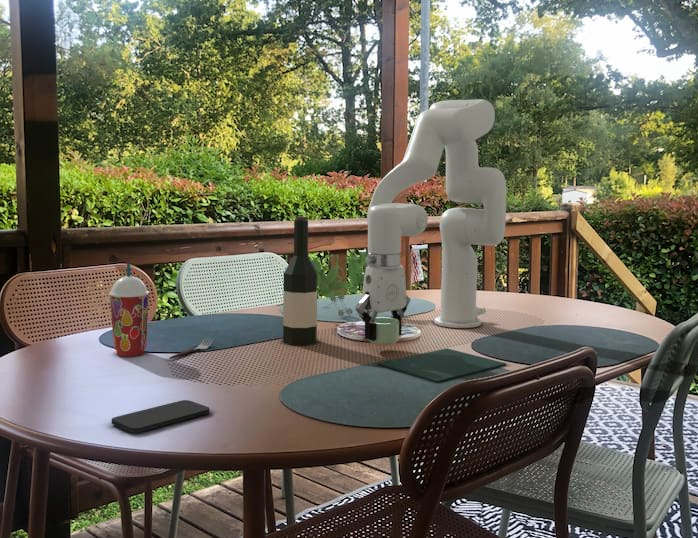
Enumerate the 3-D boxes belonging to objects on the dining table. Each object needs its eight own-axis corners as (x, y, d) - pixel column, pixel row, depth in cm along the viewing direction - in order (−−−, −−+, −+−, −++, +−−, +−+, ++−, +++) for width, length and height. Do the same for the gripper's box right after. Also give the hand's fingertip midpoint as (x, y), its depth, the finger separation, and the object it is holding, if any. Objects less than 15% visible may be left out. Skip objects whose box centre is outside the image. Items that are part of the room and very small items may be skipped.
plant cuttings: (280, 347, 203) (333, 306, 191) (252, 293, 207) (302, 250, 195) (357, 327, 231) (407, 290, 219) (331, 280, 235) (378, 241, 223)
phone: (212, 408, 127) (134, 429, 115) (212, 413, 127) (134, 434, 116) (186, 399, 131) (108, 418, 120) (186, 403, 132) (108, 423, 120)
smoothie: (157, 351, 168) (156, 262, 166) (135, 359, 161) (133, 267, 158) (126, 347, 171) (124, 260, 169) (102, 356, 163) (99, 264, 161)
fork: (164, 360, 161) (164, 351, 161) (205, 344, 176) (205, 336, 176) (174, 361, 160) (174, 352, 160) (215, 345, 175) (215, 337, 175)
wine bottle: (323, 340, 183) (325, 216, 179) (306, 347, 175) (308, 218, 171) (293, 336, 186) (294, 215, 182) (276, 342, 179) (276, 216, 175)
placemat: (447, 350, 175) (447, 348, 175) (506, 365, 163) (506, 363, 163) (378, 364, 161) (378, 363, 161) (437, 382, 148) (437, 380, 148)
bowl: (383, 336, 178) (383, 315, 177) (405, 342, 173) (405, 321, 172) (360, 341, 173) (361, 320, 173) (382, 347, 168) (382, 325, 167)
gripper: (366, 265, 162) (366, 346, 164) (422, 259, 173) (421, 334, 176) (344, 262, 167) (343, 339, 170) (399, 255, 179) (398, 328, 181)
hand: (383, 336), depth 173 cm, fingers closed on bowl, 7 cm apart
